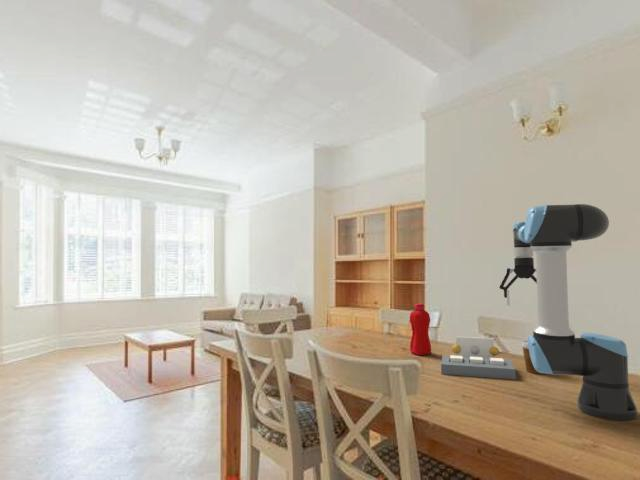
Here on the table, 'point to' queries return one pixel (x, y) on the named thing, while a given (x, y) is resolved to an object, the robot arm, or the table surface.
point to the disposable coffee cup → (528, 359)
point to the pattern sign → (475, 347)
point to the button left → (456, 358)
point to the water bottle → (420, 331)
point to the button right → (496, 361)
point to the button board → (478, 368)
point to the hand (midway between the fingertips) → (525, 305)
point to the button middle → (476, 360)
